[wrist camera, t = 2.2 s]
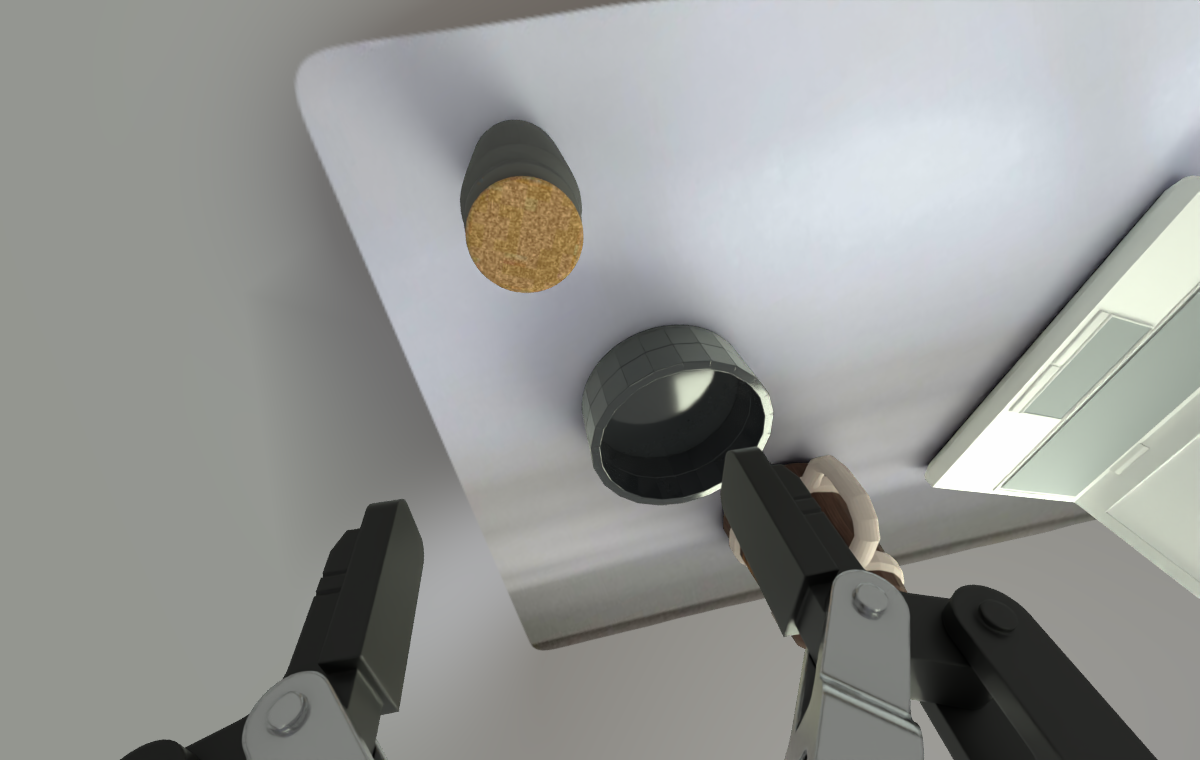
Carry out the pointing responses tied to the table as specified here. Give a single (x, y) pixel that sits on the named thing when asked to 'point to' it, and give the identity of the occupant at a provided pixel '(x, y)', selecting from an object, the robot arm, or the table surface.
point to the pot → (671, 414)
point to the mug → (840, 518)
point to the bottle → (521, 209)
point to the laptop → (1108, 398)
